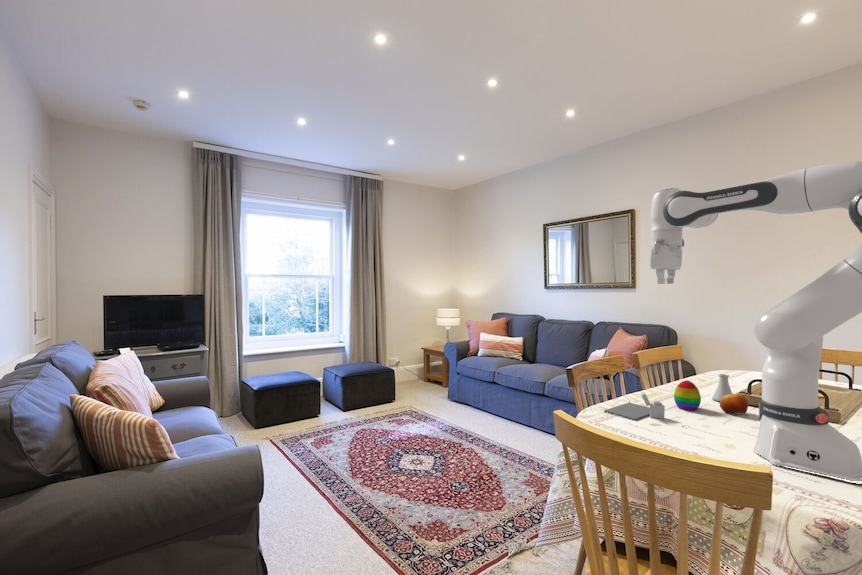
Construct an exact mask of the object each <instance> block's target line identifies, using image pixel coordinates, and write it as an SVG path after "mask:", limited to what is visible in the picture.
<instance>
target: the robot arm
mask: <svg viewBox="0 0 862 575" xmlns="http://www.w3.org/2000/svg"><path fill="white" fill-rule="evenodd" d="M651 199H652V200H651V205H650V207H651V208H650V221H651V229H650V247H651V249H650V257H649V261H650V262H649V266H650V269H651V270H655V274H656V278H657V284H658V285H665V284H667V285H669V284H670V285H671V284H672V285H673V284H674V283H675V277H676V271H677V270H681V267H682V262H683V248H684V247H685V241H684V239H683V228H685V227H686V228H687V227H688V228H692V229H693V228H694V229H700V228H701V229H702V228H706V227H708V226H710V225H712V224H713V223H714V222H715V221H716V219H717V218H718V216H719V214H724V213H728V212H730V213H731V212H735V211H759V212H767V213H772V214H776V215H777V214H778V215H786V214H787V215H792V214H804V213H811V212H817V211H823V210H829V209H844V210H848V215H849V219H850V221H851V222H852V223H853V225H854V226H855V227H856V228H857V230H858V231H859V232H860V234H862V161H858V160H853V161H843V162H833V163H826V164H820V165H815V166H810V167H806V168H801V169H797V170H792V171H790V172H786V173H782V174H779V175H775V176H773V177H769V178H766V179H762V180H759V181H756V182H752V183H748V184H747V183H746V184H743V185H737V186H732V187H727V188H723V189H716V190H712V191H706V192H695V191H690V190H681V189H680V188H678V187H671V188H665V189H662V190H659V191H657V193H655V194H654V195H653V197H652V198H651ZM665 272H666V274H667V278H666V277H665ZM861 313H862V245H860V246H859V247H858V248H857V249H856V250H855V251H854V252H853V251H852V253H851V254H849V255H847V256H846V257H845V258H844V259H842V260H841V261H839V262H838V263H836V264H835V265H834V266H833V267H831V268H830V269H828V270H826V271H825V272H824V273H823V274H822V275H820V276H819V277H818V278H816V279H815V280H813V281H811V282H810V283H809V284H807V285H806V286H804V287H803V288H801V289H799V290H798V291H796V292H794V293H793V294H791V295H790V296H788V297H787V298H786V299H784V300H783V301H781V302H780V303H778V304H777V305H775V306H774V307H771V308H770V309H769V310H768V311H766V312H765V313H763V314H762V315H761V316H760V317H759V318H758V319H757V321H756V323H755V325H754V335H755V337H756V339H757V341H758V342H759V343H760V344H761V345H763V346H764V347H766V354H765V359H764V363H763V366H762V369H761V398H760V399H759V403H758V415H759V419H760V421H759V422H760V424H759V430H758V435H757V438H756V441H755V444H754V447H753V451H754V452H755V453H756V454H757V455H758V454H759V456H760V455H761V456H760V457H762V458H764V459H766V460H767V461H768V460H769V461H770V462H771V463H770V462H769V461H768V462H769V463H770V464H772V465H773V464H774V466H776V465H777V466H776V467H779V466H787V467H791V468H796V469H801V470H805V471H809V472H814V473H819V474H824V475H829V476H833V477H837V478H841V479H846V480H850V481H862V479H860V478H862V455H861V452H860V449H859V447H858V445H857V443H855V442H854V441H853V440H852V439H850V438H848V437H847V436H845V435H844V434H843V433H841V432H840V431H839V430H838V429H836V428H835V427H833V426H832V425H831V424H830V409H829V410H825V409H824V408H822V407H821V406H820V405H819V377H820V376H819V375H820V374H819V373H820V367H821V361H822V360H821V359H822V353H823V342H824V336H825V335H826V334H828V333H830V332H832V331H833V330H835V329H837V328H838V327H840V326H841V325H843V324H844V323H846V322H848V321H849V320H851V319H853V318H854V317H856V316H858V315H860V314H861Z"/></svg>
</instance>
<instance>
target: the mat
mask: <svg viewBox="0 0 862 575" xmlns="http://www.w3.org/2000/svg"><path fill="white" fill-rule="evenodd" d="M606 412H608V413H607V414H609V413H612V414H611V415H613V414H616V415H619V416H618V417H620V416H622V417H621V418H624V417H625V418H624V419H627V418H628V420H631V419H632V420H631V421H634V420H636V421H638V420H641V419H643V418H646V417H648V416H649V417H650V406H649V407H648V406H645V405H641V404H637V403H633V402H626V403H624V404H623V403H622V404H619V405H617V406H613V407H611V408H608V409H607V408H606V409H604V413H606ZM616 415H615V416H616Z"/></svg>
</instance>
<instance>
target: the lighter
mask: <svg viewBox="0 0 862 575" xmlns="http://www.w3.org/2000/svg"><path fill="white" fill-rule="evenodd" d="M640 395H641V398H642V400H643V401H644V404H645V405H646V407H648V406H649V408H650V415H649V417H650V418H653V419H662V420H665V412H666V411H665V408H666V406H665V404H663V403H662V402H660V401H655V400H654V401H653V403H651V402H650V400H649V398H648V396H647V395H646V392H645V391H644V392H642V393H640Z"/></svg>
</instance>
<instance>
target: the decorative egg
mask: <svg viewBox="0 0 862 575" xmlns="http://www.w3.org/2000/svg"><path fill="white" fill-rule="evenodd" d="M673 392H674V393H673V400H674V402H675V406H676V407H677V408H679V409H680V408H681V410H683V411H696V410H697V409H698V408H699V407H700V406H701V401H702V400H701V399H702V397H701V393H700V391H699V389H698V387H697V386H696V385H695V383H693V382H692V381H691V380H682V381H681V382H679V384H678V385H677V386H676V387H675V389H674V391H673Z"/></svg>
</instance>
